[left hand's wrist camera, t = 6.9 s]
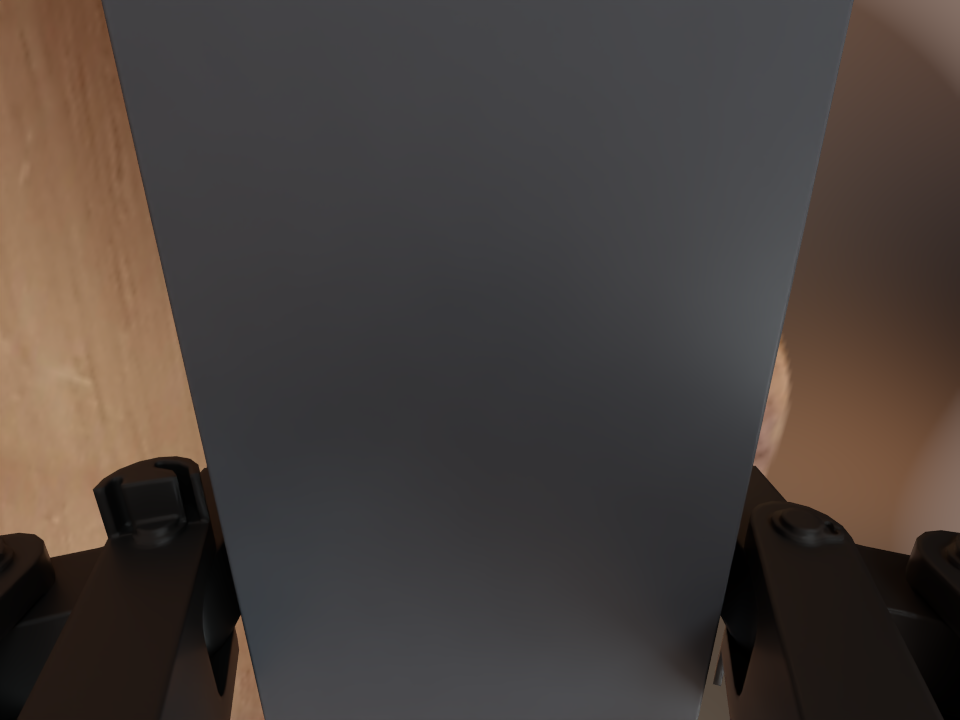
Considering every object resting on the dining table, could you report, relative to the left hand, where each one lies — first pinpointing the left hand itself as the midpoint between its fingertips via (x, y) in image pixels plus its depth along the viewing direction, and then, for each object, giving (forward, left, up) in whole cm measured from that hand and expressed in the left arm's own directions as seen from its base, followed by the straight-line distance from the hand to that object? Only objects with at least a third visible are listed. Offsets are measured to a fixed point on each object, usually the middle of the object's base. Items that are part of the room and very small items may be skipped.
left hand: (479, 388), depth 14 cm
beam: (+2, +22, -1) cm, 22 cm away
